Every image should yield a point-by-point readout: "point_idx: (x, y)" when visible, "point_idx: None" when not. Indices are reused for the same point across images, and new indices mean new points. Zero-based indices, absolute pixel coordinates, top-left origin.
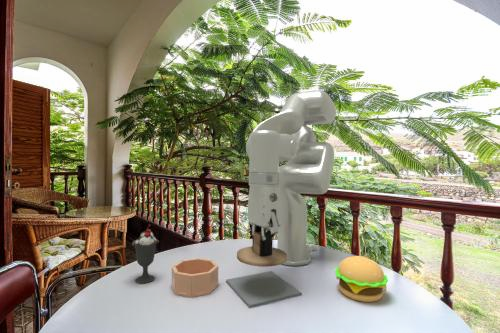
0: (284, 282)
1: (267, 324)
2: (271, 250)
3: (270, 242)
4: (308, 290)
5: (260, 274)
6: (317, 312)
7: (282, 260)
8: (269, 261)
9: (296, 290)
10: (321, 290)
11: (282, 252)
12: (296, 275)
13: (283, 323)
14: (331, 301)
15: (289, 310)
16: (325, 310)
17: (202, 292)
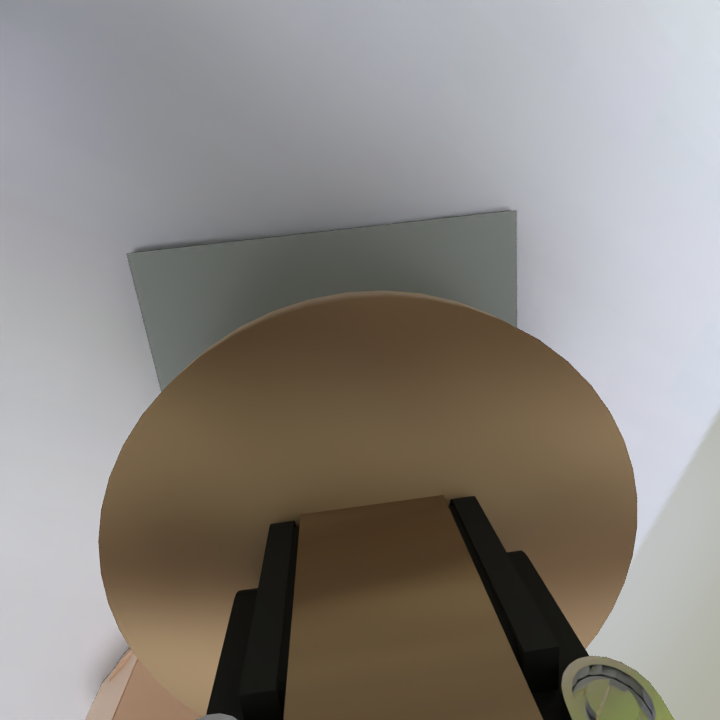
0: (350, 250)
1: (647, 490)
2: (487, 529)
3: (583, 655)
4: (475, 124)
5: (178, 361)
6: (691, 231)
7: (618, 434)
8: (617, 571)
9: (481, 230)
10: (511, 23)
11: (422, 337)
12: (219, 61)
13: (674, 429)
14: (651, 63)
15: (608, 360)
16: (700, 174)
17: None
